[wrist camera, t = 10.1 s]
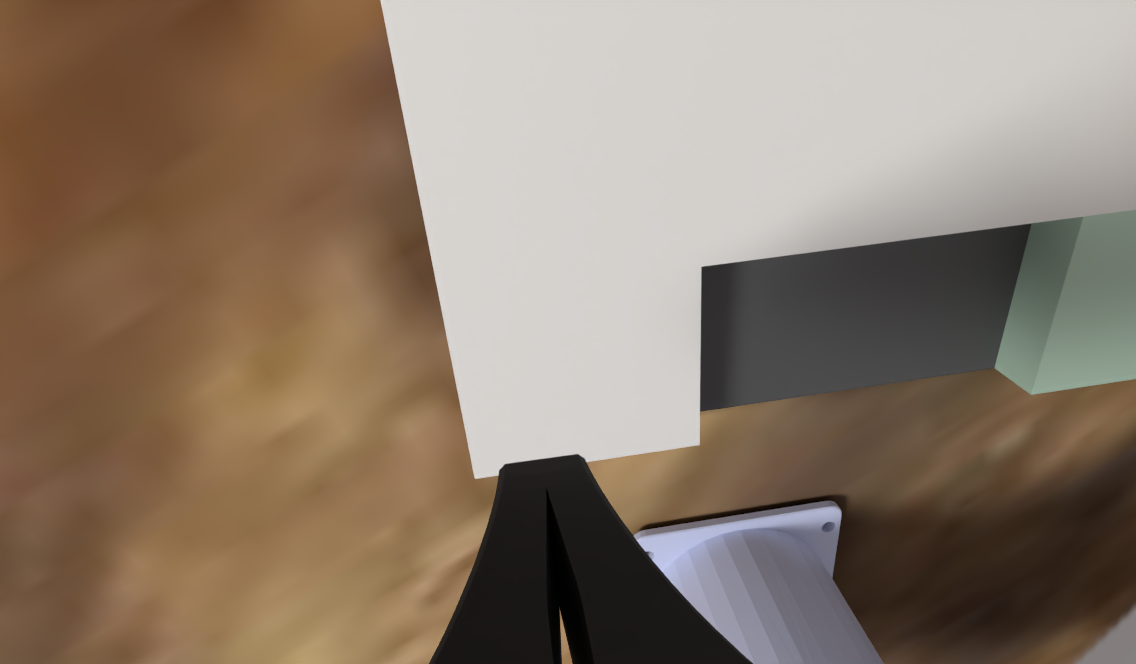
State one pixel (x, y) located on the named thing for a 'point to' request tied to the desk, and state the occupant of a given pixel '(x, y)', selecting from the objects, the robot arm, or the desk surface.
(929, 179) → the trap board
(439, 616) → the desk surface
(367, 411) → the desk surface
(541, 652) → the robot arm
